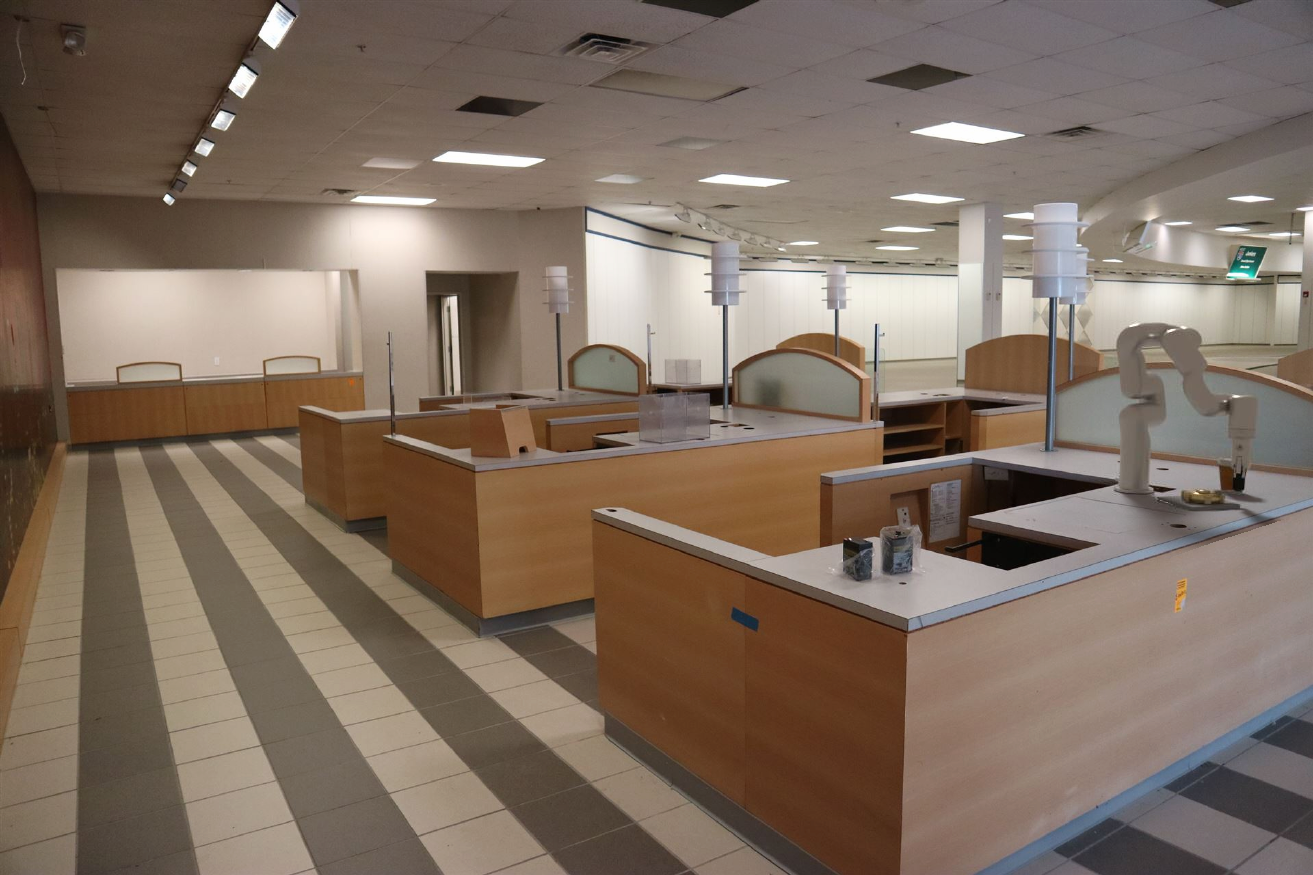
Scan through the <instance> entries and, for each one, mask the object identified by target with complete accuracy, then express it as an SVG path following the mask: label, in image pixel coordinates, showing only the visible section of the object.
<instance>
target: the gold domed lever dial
mask: <svg viewBox="0 0 1313 875" xmlns="http://www.w3.org/2000/svg"><path fill="white" fill-rule="evenodd" d="M1226 495H1239V496H1240V495H1241V496H1242V495H1243V491H1242V490H1221V489H1213V490H1210V489H1205V488H1204V489H1202V488H1195V489H1186V490H1185V489H1182V490H1181V493H1180V496H1181V499H1184V500H1185V501H1186V502H1193V503H1201V504H1218V503H1225V501H1226Z"/></svg>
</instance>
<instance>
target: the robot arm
mask: <svg viewBox="0 0 1313 875" xmlns="http://www.w3.org/2000/svg"><path fill="white" fill-rule="evenodd" d="M1202 338H1203V337H1202V336H1201V333H1199V331H1197V330H1196V329H1195V328H1192V327H1187V326H1181V325H1176V324H1171V323H1165V322H1138V323H1134V324H1131V325H1129V326H1127V327H1125V328H1124V329H1123V330H1122V331H1120V333H1119V334H1118V336H1117V340H1116V344H1115V346H1116V347H1115V348H1116V354H1117V360H1118V374H1119V384H1120V392H1121V394H1122V396H1123V397H1124V398H1125V399H1127V400H1138V402H1136V403H1131V404H1128V405H1126V406H1123V408H1122V409H1121V410H1120V412H1119V413H1118V414H1119V415H1118V424H1119V431H1120V445H1119V446H1120V451H1119V452H1120V453H1119V475H1118V476H1117V477H1116V478H1115V480H1114V481H1115V482H1117V485H1114V486H1113V489H1114V491H1116V492H1118V493H1119V492H1120V493H1126V494H1136V495H1137V494H1138V495H1141V494H1143V495H1144V494H1152V493H1154V488H1153V487H1151V486H1150V485H1149V484H1150V469H1151V468H1150V466H1151V444H1152V442H1151V436H1150V433H1149V430H1148V429H1150V430H1151V429H1155V428H1158V427H1160V426H1162V425H1163V424H1164V422H1165V421H1166V418H1167V404H1166V403H1167V402H1166V401H1167V400H1166V393H1165V385H1164V381H1163V380H1162V378H1161V377H1160V376H1159V375H1158V373H1155V372H1152V371H1147V363H1146V358H1145V355H1144V353H1143V352H1142V349H1143V348H1153V347H1159V348H1162V349H1163V350H1164V352H1165V354H1166V355H1167V356H1168V358H1169V359H1170V361H1171V362H1172V363H1173V365H1174V367H1175V368H1176V370H1177V371H1178V373H1179V374H1180V375H1181V383H1182V384H1181V386H1182V390H1183V393H1184V396H1185V398H1186V399H1187V401H1188V403H1189V405H1191V407H1192V408H1193V409H1194V410H1195V412H1196V413H1197V414H1199V416H1202V417H1204V418H1214V417H1215V418H1216V417H1223V416H1228V422H1227V423H1228V426H1227V428H1228V429H1227V439H1231V446H1230V447H1231V450H1230V451H1231V452H1230V454H1231V456H1230V457H1231V467H1232V468H1233V469H1234V477H1233V490H1243V491H1245V488H1246V477H1245V468H1247V471H1249V470H1250V469H1251V468H1252V451H1253V450H1252V447H1253V446H1252V444H1253V443H1252V440H1256V436H1257V434H1256V433H1257V419H1258V418H1257V417H1258V416H1257V415H1258V401H1259V400H1258V397H1256V396H1255V395H1252V394H1251V395H1249V394H1233V393H1227V392H1216V393H1212V392H1211V390H1210V389H1209V388H1208V386H1207V385H1206V383H1205V381H1204V372H1205V369H1206V368H1208V361H1207V360H1206V359H1205V357H1204V355H1203V354H1202V352H1200V350H1199V349H1200V348H1201V347H1202V343H1203V339H1202Z"/></svg>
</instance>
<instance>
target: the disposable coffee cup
mask: <svg viewBox="0 0 1313 875" xmlns="http://www.w3.org/2000/svg"><path fill="white" fill-rule="evenodd" d="M1217 465H1218V470H1219V472H1218V473H1219V483H1220V484H1219V485H1220V490H1233V477H1234V469H1233V468H1232V467H1231V456H1222V457H1221V456H1220V457H1219V458H1218V460H1217ZM1247 472H1248V470H1247V468H1245V478H1246V477H1247ZM1243 491H1244V490H1242V492H1243Z"/></svg>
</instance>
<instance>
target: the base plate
mask: <svg viewBox="0 0 1313 875" xmlns="http://www.w3.org/2000/svg"><path fill="white" fill-rule="evenodd" d="M1157 499H1158V500H1162V501H1164V502H1168V503H1170V504H1169V505H1171V504H1172V506H1174V505H1175V507H1178V508H1181V507H1182V508H1181V509H1185V510H1187V509H1188V511H1192V512H1193V511H1213V510H1232V509H1235V510H1236V509H1241V504H1240V503H1236V502H1232V501H1228V500H1225V503H1218V504H1201V503H1193V502H1186V501H1185V500H1184V499H1181V495H1171V496H1170V495H1167V496H1156V500H1157ZM1158 500H1157V501H1158ZM1164 502H1163V503H1164Z"/></svg>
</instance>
